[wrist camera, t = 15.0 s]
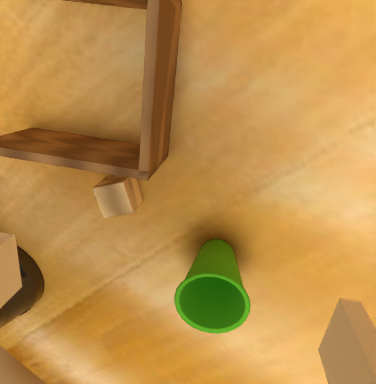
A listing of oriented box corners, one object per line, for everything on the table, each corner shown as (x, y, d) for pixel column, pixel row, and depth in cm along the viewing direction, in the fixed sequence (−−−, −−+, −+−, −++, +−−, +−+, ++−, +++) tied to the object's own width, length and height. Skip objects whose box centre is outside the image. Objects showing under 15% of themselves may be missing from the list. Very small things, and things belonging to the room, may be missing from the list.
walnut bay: (32, 134, 42) (-25, 151, 33) (18, -15, 35) (-60, -46, 26) (167, 155, 40) (147, 180, 31) (182, 2, 33) (160, -25, 24)
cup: (181, 266, 46) (166, 320, 36) (197, 219, 43) (184, 263, 33) (235, 284, 46) (235, 342, 36) (255, 237, 42) (261, 288, 32)
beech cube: (116, 204, 44) (103, 218, 40) (106, 177, 43) (92, 188, 39) (143, 199, 43) (133, 213, 39) (134, 171, 42) (123, 182, 37)
